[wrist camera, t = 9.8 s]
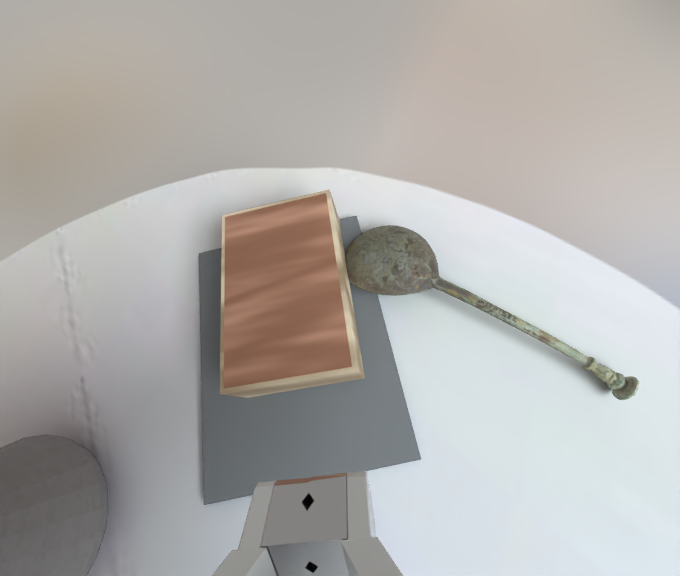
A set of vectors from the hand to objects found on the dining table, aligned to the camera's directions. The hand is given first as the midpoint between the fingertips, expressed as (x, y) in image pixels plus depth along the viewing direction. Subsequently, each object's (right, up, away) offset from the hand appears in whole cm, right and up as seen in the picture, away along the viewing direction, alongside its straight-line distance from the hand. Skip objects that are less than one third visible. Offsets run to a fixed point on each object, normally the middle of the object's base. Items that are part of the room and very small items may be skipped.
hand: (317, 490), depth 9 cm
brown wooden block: (-2, -1, +13) cm, 13 cm away
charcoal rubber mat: (-3, +1, +17) cm, 17 cm away
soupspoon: (+10, +4, +16) cm, 20 cm away
